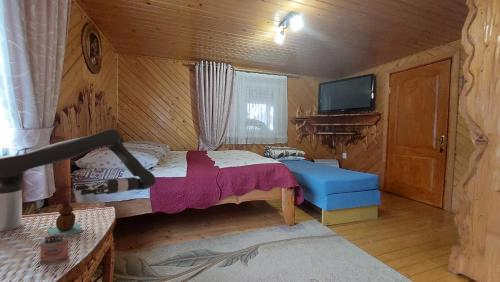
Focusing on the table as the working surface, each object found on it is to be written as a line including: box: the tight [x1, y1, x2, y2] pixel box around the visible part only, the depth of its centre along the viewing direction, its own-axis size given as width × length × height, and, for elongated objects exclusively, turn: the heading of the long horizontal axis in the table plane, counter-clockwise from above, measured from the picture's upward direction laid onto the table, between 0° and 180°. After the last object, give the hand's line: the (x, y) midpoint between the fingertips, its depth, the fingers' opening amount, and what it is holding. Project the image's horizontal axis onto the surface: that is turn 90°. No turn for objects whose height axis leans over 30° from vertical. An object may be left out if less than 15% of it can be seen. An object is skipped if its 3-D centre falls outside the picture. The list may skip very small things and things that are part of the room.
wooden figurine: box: [55, 198, 76, 231], centre depth 102 cm, size 7×6×15 cm
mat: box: [46, 222, 85, 237], centre depth 102 cm, size 12×11×1 cm
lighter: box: [39, 233, 70, 266], centre depth 80 cm, size 8×3×10 cm, turn 114°
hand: (78, 190), depth 104 cm, fingers open, 8 cm apart
